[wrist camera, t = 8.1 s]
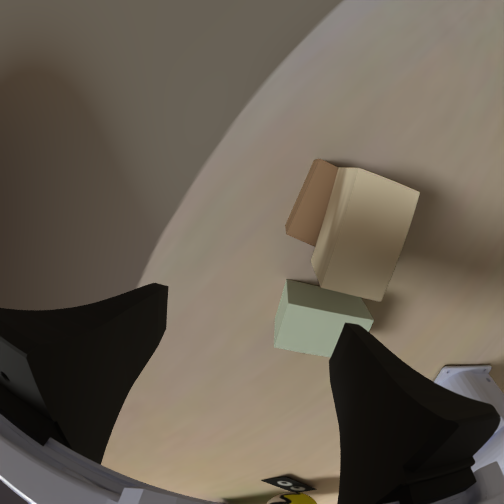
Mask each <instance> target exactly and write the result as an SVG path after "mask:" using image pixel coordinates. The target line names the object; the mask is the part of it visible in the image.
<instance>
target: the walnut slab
mask: <svg viewBox="0 0 504 504" xmlns="http://www.w3.org/2000/svg"><path fill="white" fill-rule="evenodd" d="M337 172H338V167H336V166H334V165H332V164H330V163H328V162H326V161H324V160H321V159H316V160H314V161H313V164H312V166H311V168H310V171H309V173H308V175H307V177H306V180H305V182H304V184H303V187H302V189H301V191H300V193H299V196H298V198H297V200H296V202H295V205H294V207H293V209H292V212H291V214H290V216H289V218H288V220H287V223H286V225H285V227H286V234H287V235H289V236H292V237H294V238H296V239H299V240H301V241H303V242H306V243H308V244H310V245H312V246H316V243H317V240H318V237H319V234H320V230H321V227H322V224H323V221H324V217H325V214H326V211H327V207H328V204H329V200H330V197H331V194H332V190H333V186H334V183H335V179H336V176H337Z"/></svg>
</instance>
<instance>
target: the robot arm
mask: <svg viewBox="0 0 504 504" xmlns="http://www.w3.org/2000/svg"><path fill="white" fill-rule="evenodd" d="M167 300H168V286H165V285H161V284H157V283H152V284H148V285H145V286H143V287H140V288H137V289H134V290H132V291H129V292H126V293H124V294H121V295H118V296H115V297H112V298H109V299H106V300H102V301H99V302H96V303H92V304H88V305H83V306H78V307H73V308H64V309H56V310H42V311H41V310H39V311H34V310H30V311H28V310H14V309H4V308H0V480H1V481H2V482H3V483H5V484H6V485H7V486H8V487H9V488H10V489H12V490H13V491H14V492H15V493H16V494H18V495H19V496H20V497H22V498H23V499H24V500H26V501H27V502H28V503H29V504H222V503H217V502H212V501H207V500H202V499H198V498H193V497H189V496H185V495H182V494H178V493H174V492H171V491H167V490H164V489H161V488H158V487H155V486H152V485H149V484H146V483H143V482H140V481H138V480H135V479H132V478H130V477H127V476H125V475H122V474H120V473H118V472H115V471H113V470H111V469H108V468H106V467H104V466H102V465H101V462H102V459H103V455H104V452H105V449H106V446H107V443H108V440H109V438H110V435H111V432H112V429H113V427H114V424H115V422H116V420H117V417H118V415H119V412H120V410H121V408H122V406H123V403H124V401H125V399H126V397H127V395H128V393H129V391H130V389H131V387H132V386H133V384H134V382H135V381H136V379H137V378H138V376H139V375H140V373H141V371H142V370H143V368H144V367H145V365H146V364H147V362H148V361H149V359H150V358H151V356H152V355H153V353H154V352H155V350H156V348H157V347H158V345H159V343H160V341H161V339H162V336H163V334H164V332H165V330H166V319H167ZM491 368H492V367H491V366H490V365H482V366H445V367H443V368H442V370H441V371H440V373H439V374H438V376H437V378H436V379H435V381H434V382H433V381H431V380H429V379H427V378H426V377H424V376H423V375H421V374H420V373H418V372H417V371H415V370H414V369H412V368H411V367H410V366H408V365H407V364H406V363H404V362H403V361H402V360H401V359H399V358H398V357H397V356H396V355H394V354H393V353H392V352H391V351H390V350H388V349H387V348H386V347H385V346H384V345H383V344H382V343H381V342H379V341H378V340H377V339H376V338H375V337H374V336H373V335H372V334H370V333H369V332H368V331H367V330H366V329H364V328H363V327H362V326H360V325H359V324H353V323H346V322H345V324H344V327H343V329H342V332H341V334H340V337H339V339H338V341H337V344H336V346H335V349H334V351H333V353H332V356H331V358H330V360H329V370H330V383H331V388H332V393H333V398H334V403H335V408H336V413H337V418H338V423H339V431H340V449H341V466H340V485H339V496H338V504H504V394H503V392H502V391H501V390H500V388H499V387H498V386H497V384H496V383H495V382H494V380H493V379H492V378H491V376H490V375H489V372H490V370H491Z"/></svg>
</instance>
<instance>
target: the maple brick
mask: <svg viewBox="0 0 504 504" xmlns="http://www.w3.org/2000/svg"><path fill="white" fill-rule="evenodd" d="M419 194H420V192H418V191H416V190H414V189H411V188H409V187H407V186H404V185H402V184H399V183H397V182H395V181H392V180H390V179H387V178H385V177H382V176H379V175H377V174H374V173H371V172H369V171H366V170H363V169H361V168H338V172H337V176H336V179H335V183H334V186H333V190H332V194H331V197H330V200H329V204H328V207H327V211H326V214H325V217H324V221H323V224H322V227H321V230H320V234H319V237H318V240H317V243H316V246H315V249H314V253H313V256H312V259H311V263H312V266H313V268H314V271H315V274H316V276H317V279H318V281H319V284H320V287H321V288H325V289H329V290H333V291H337V292H341V293H345V294H349V295H353V296H357V297H362V298H366V299H370V300H374V301H379V302H381V300H382V298H383V296H384V293H385V291H386V289H387V286H388V284H389V282H390V279H391V277H392V274H393V272H394V269H395V267H396V264H397V261H398V259H399V256H400V253H401V251H402V248H403V245H404V242H405V239H406V236H407V233H408V230H409V227H410V224H411V221H412V218H413V215H414V212H415V208H416V205H417V201H418V198H419Z"/></svg>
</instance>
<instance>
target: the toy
mask: <svg viewBox="0 0 504 504" xmlns="http://www.w3.org/2000/svg"><path fill="white" fill-rule="evenodd" d="M261 481H264V482H266V483H269V484H272V485H274V486H277V487H280V488H282V489H285V490H288V491H291V492H285V493H282V494H279V495H276V496H275V497H273V498H271V499H270V500H269V501H268V502H267V503H266V504H317V503H316V502H315V500H314V499H312V498H311V497H310V496H308V495H306V494H303V493H299V492H304V491H310V490H316V489H315V488H312V487H310V486H307V485H304V484H302V483H299V482H297V481H294V480H292V479H289V478H287V477H281V478H274V479H267V480H261Z"/></svg>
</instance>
